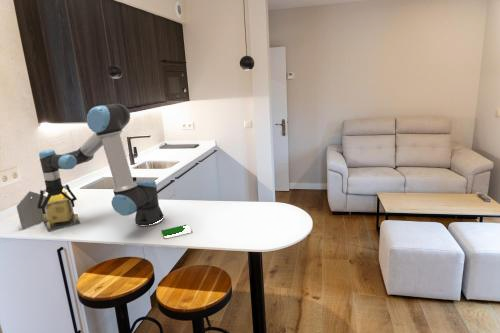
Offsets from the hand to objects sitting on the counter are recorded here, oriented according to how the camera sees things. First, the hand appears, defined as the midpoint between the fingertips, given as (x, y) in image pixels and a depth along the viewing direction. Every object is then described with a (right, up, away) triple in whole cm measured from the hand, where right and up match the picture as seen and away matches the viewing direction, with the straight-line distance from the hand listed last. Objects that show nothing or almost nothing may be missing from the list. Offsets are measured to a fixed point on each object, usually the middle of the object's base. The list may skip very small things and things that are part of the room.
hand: (60, 215), depth 189 cm
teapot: (-16, +2, +29) cm, 33 cm away
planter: (-17, -5, +4) cm, 18 cm away
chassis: (0, -4, +1) cm, 4 cm away
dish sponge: (+69, -7, -19) cm, 72 cm away
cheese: (0, -2, +1) cm, 2 cm away
